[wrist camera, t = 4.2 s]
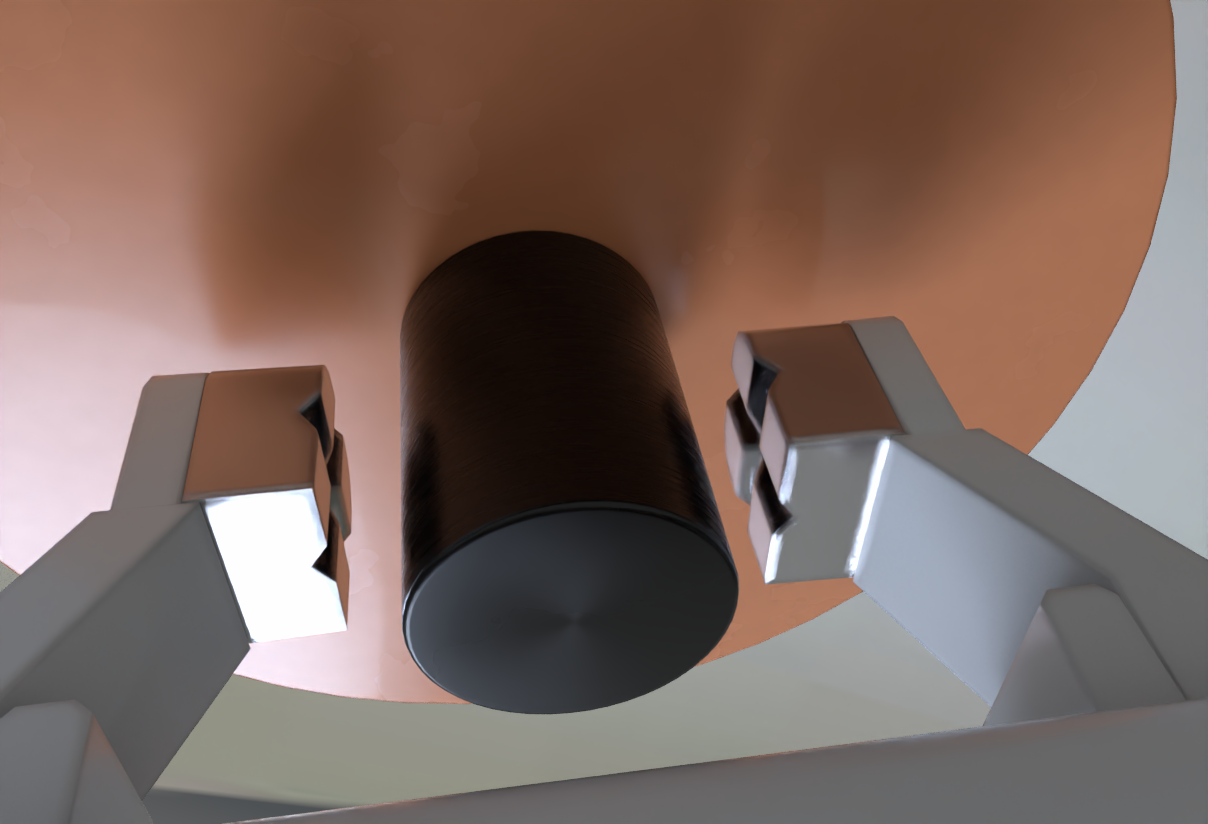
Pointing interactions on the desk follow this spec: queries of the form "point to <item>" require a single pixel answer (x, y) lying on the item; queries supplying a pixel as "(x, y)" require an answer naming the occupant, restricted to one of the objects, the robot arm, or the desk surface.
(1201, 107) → the desk surface
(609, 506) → the pot lid
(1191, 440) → the desk surface
